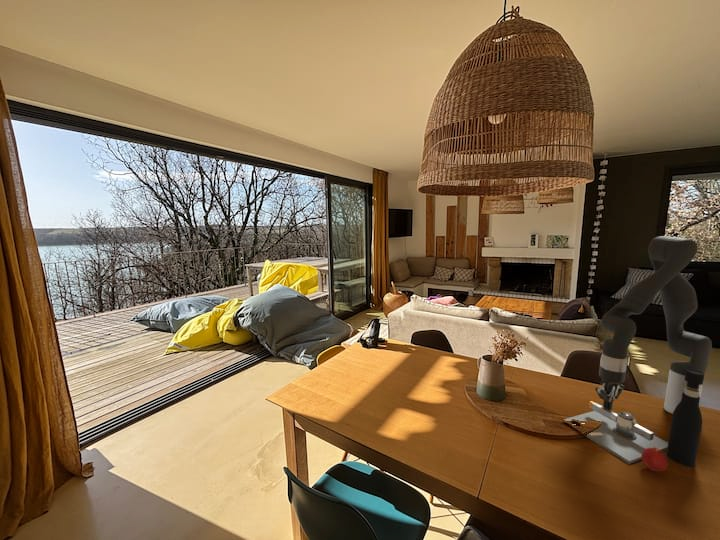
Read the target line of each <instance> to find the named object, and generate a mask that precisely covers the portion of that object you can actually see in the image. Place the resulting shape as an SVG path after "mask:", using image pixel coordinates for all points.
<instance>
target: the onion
mask: <svg viewBox="0 0 720 540" xmlns="http://www.w3.org/2000/svg"><path fill="white" fill-rule="evenodd" d="M641 456H642V459H641V460H642V462H643V463H644V465H645V466H646V467H647V468H648V469H649V470H650V471H652V472H664V471H665V470H666V469H668V467H669V463H668V457H666V455H665V454H664V453H663V451H662V452H661V451H660V450H659V449H658V448H657V447H654V448H647V449H645V450H644V451H643V452H642V455H641Z"/></svg>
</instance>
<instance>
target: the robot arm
mask: <svg viewBox="0 0 720 540" xmlns="http://www.w3.org/2000/svg"><path fill="white" fill-rule="evenodd" d="M698 248H699V247H698V244H697V242H696V241H694V240H693V239H690V238H686V237H676V236H669V235H668V236H666V235H665V236H664V235H661V236H656V237H653V239H652V240H650V243H649V245H648V248H647V249H648V250H647V251H648V256H649V260H650V262H651V265H652V268H653V270H654V272H653V273H651V274H650V275H648V276H647V277H645V278H643V279H641V280H639V281H637V282H636V283H634V284H633V285H632V286H631V287H630V288H629V289H628V290H627V291H626V293H625V295H623V297H622V298H621V300H620V301H619V302H618V303H616V304H615V305H614V306H613V307H611V308H610V309H609V310H608V311H606V312H605V313H604V315H603V316H602V318H601V326H602V328H603V329H604V330H606V331H608V332H610V333H612V334H613V336H612V337H609V338H607V337H606V338H605V340H603V345H602V352H601V356H600V363H599V370H598V376H599V378H601V381H600V386H599V387H595V388H594V389H595V392H596V394H597V395H598V397H599V399H600V400H603V404H602V406H603V407H605V408H607V409H609V410H611V411H612V409H613V403H614V402H615V400H617V399H619V396H620V395H621V394H622V392H623V391H624V389H625V385H623V384H622V383H624V382H625V380H626V373H627V364H628V362H627V359H628V358H627V357H628V353H629V351H628V350H629V347H630V345H631V343H632V341H633V339H634V337H635V336H636V333H637V325H636V322H635V321H634V320H633V319H631V318H629V317H630V316H631V315H641V314H642V313H644V311H645V310H646V309H647V307H648V306H649V305H650V303H651V302H652V301H653V300H654V298H655V297H656V295H658V293H659V294H660V300H661V304H662V309H663V312H664V318H665V324H666V339H667V346H668V349H670V350H671V351H672V352H674V353H676V354H680V355H682V356H685V357H688V358H690V359H689V360H688V361H685V360H675V361H672V362H671V363H670V364H669V365H670V366H669V372H668V379H667V385H666V391H665V397H664V398H665V399H664V404H663V409H664V410H665V411H666V412H668V413H669V414H671V415H673V412H674V410H675V408H676V406H677V405H678V404H679V403H680V401H681V399H682V393H683V392H684V389H685V387H687V386H686V385H687V381H685V373H686V370H687V369H692V370H697V371H700V372H702V373H704V375H705V374H706V371H707V368H708V363H709V360H710V356H711V351H712V347H713V344H712V343H713V342H712V340H711V339H710V337H708V336H704V335H701V334H697V333H694V332H689V331H686V330H685V328H684V323H685V322H686V320H688V319H689V318H691V316H693V314H694V313H696V311H697V310H698V306H699V305H698V304H699V303H698V298H697V293H696V290H695V288H694V286H693V285H692V284H691V283H690V282H689V281H688V279H686V277H684V275H683V274H682V273H681V271H683V270H684V269H685V268H686V267H687V266H688V265H689V264H690V263H691V262H692V260H693V259H694V258H695V256H696V255H697V254H698V253H697V252H698ZM703 384H704V383H703ZM703 384H702V385H699V393H700V394H699V397H700V398H701V396H702V390H703ZM700 403H701V402H699V404H700Z"/></svg>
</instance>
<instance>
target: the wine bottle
mask: <svg viewBox="0 0 720 540" xmlns="http://www.w3.org/2000/svg"><path fill="white" fill-rule="evenodd" d="M704 378H705V374H704V373H702V372H700V371H697V370H692V369H687V370H686V373H685V381H687V385H686V386H687V387H685V389H684V392H683V393H682V399H681V401H680V403H679V404H678V405H677V406H676V408H675V410H674V412H673V414H672V416H671V423H670V430H669V436H668V441H667V442H668V448H667V450H666V456H667V458H669V460H671V461H673V462H675V463H677V464H679V465H681V466H684V467H689V468H691V467H692V468H693V467H695V466H696V462H697V456H698V452H699V444H700V439H701V434H702V427H703V416H702V415H703V414H702V412H701V408H700V403H701V402H700V401H701V397H699V394H700V393H699V385H702V384H704ZM699 402H700V403H699Z"/></svg>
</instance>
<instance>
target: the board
mask: <svg viewBox="0 0 720 540" xmlns="http://www.w3.org/2000/svg"><path fill="white" fill-rule="evenodd" d="M572 419H575V420H579V421H594V420H596V421H600V422H601V426H600V427H599V428H598V429H596V430H594V431H593V432H591V433H589V434H587V436H585V437H586V438H588V439H589V440H591V441H593V442H594V443H595V444H597V445H599V446H600V447H602V448H603V449H604V450H606V451H608V452H609V453H611V454H612V455H614V456H616V457H617V458H619V459H621V460H622V461H623V462H625V463H626V464H629V465H631V464H633V463H636V462H638V461H641V460H642V456H641V455H642V452H643V451H644V450H645V449H647V448H654V447H657V448H658V449H659V450H660V451H661V452H662V453H663V452H665V451H667V448H668V441H665V440H663V439H662V438H660V437H658V436H656V435H654V437H653V440H650V441H649V440H647V439H645V438H644V437H642V436H640V435H638V434H636V433H634V437H632V438H629V437H625V436H622V435H620V434H619V433H617V432H616V422H614V421H612V420H611V419H609V418H607V417H605V416H603V415H601V414H600V413H598V412H596V411H594V410H592V411H588V412H585V413H581V414H578V415H574V416H570V417H567V418H563V420H565V421H571V420H572ZM563 420H562V421H563ZM581 424H585V423H581ZM572 425H576V424H572Z"/></svg>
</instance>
